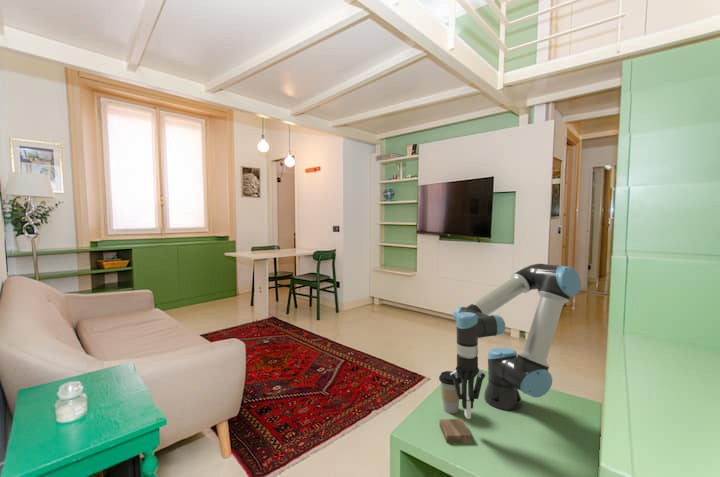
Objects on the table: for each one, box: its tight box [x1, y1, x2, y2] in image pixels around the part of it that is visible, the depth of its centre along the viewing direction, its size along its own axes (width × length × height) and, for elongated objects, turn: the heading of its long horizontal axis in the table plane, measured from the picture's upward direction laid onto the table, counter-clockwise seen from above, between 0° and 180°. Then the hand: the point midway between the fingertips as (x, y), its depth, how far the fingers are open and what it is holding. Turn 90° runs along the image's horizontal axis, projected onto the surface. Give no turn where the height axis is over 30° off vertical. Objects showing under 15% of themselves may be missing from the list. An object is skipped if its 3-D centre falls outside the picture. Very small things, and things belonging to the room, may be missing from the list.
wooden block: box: [439, 418, 472, 444], centre depth 120 cm, size 3×10×9 cm
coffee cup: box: [438, 370, 461, 415], centre depth 136 cm, size 9×9×15 cm
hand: (467, 416), depth 120 cm, fingers closed
